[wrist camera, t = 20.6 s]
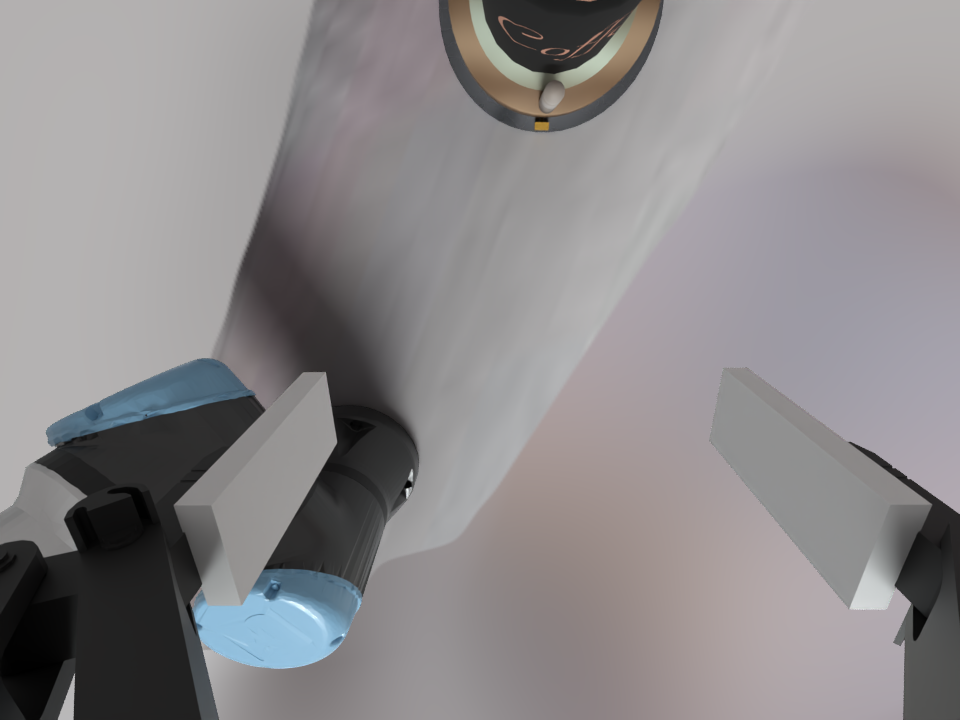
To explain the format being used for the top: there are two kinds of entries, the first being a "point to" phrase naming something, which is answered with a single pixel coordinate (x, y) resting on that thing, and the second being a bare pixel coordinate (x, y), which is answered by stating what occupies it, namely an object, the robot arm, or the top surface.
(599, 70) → the index wheel
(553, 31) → the coffee jar
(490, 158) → the top surface
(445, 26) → the wheel base
